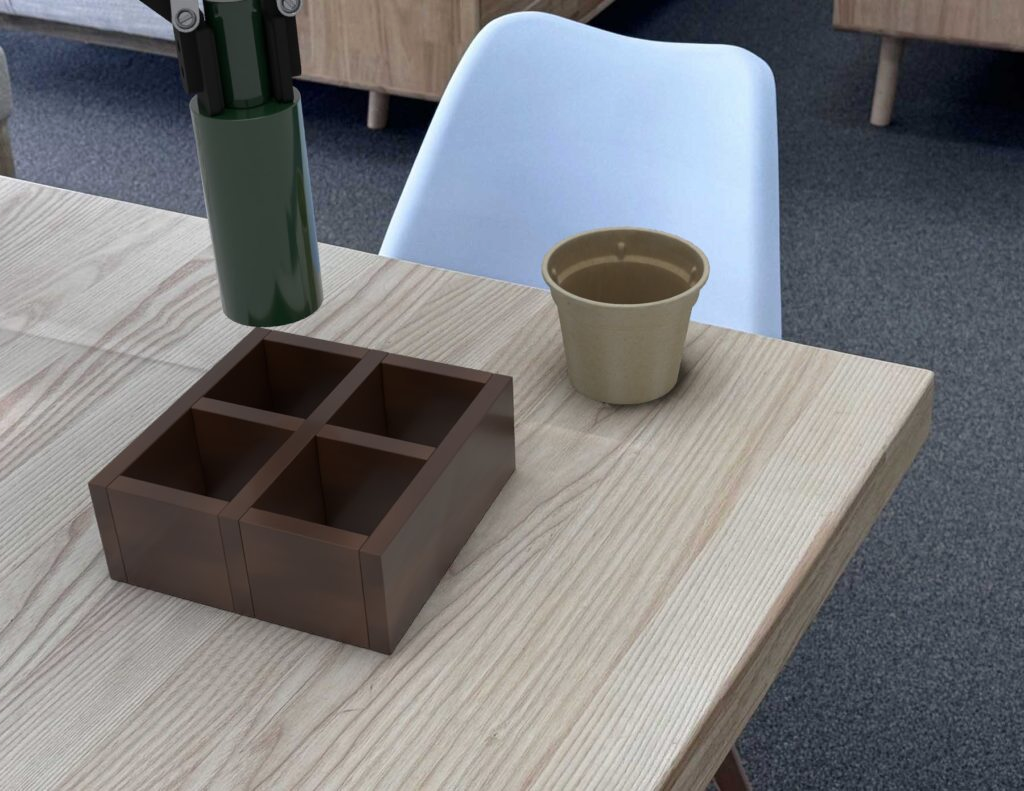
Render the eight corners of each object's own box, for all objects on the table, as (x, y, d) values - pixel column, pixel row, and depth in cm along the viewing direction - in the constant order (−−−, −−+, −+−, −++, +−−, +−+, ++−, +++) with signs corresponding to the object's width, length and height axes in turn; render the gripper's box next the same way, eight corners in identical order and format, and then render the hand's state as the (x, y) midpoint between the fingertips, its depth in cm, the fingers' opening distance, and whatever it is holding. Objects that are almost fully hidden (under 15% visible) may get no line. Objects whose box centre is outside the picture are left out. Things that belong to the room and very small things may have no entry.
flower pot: (697, 444, 79) (705, 310, 74) (532, 431, 80) (529, 299, 75) (706, 356, 86) (714, 230, 82) (555, 346, 88) (554, 222, 83)
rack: (109, 578, 70) (86, 482, 67) (268, 414, 82) (255, 325, 79) (390, 655, 65) (380, 555, 62) (516, 467, 77) (513, 376, 74)
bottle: (202, 317, 71) (148, 5, 62) (255, 271, 75) (212, -28, 66) (292, 335, 69) (250, 16, 60) (341, 287, 73) (309, -19, 64)
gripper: (350, -360, 61) (382, 48, 71) (-36, -334, 56) (58, 101, 66) (407, -346, 56) (433, 96, 66) (-18, -315, 50) (82, 159, 61)
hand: (244, 95), depth 66 cm, fingers closed on bottle, 2 cm apart
